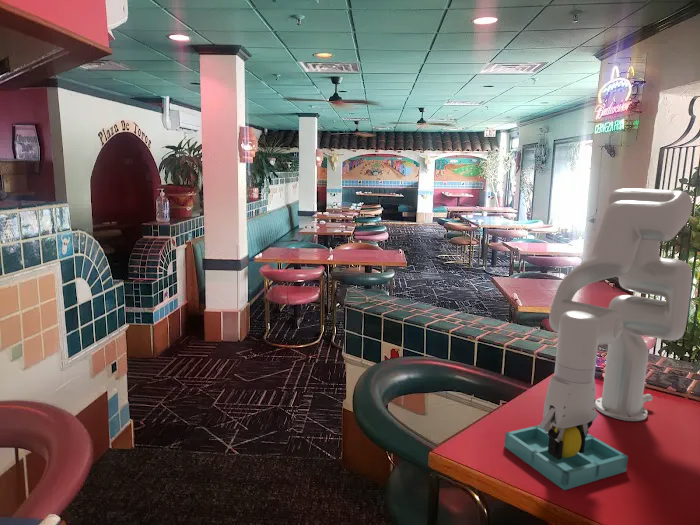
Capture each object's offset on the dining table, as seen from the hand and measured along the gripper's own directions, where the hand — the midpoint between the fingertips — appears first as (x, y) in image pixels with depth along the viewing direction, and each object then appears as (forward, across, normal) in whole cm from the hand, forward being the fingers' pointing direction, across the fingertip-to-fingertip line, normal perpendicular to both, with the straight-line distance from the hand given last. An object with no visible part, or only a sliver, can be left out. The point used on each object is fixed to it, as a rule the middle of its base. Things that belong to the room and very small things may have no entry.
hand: (565, 452), depth 110 cm
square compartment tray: (+5, -4, -4) cm, 8 cm away
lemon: (+1, 0, 0) cm, 2 cm away
